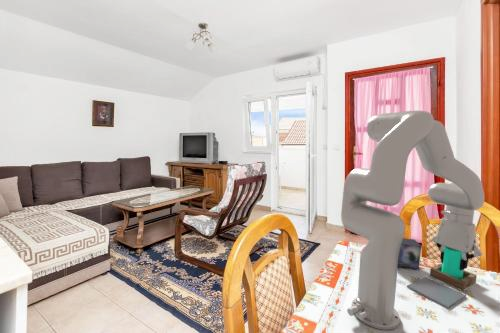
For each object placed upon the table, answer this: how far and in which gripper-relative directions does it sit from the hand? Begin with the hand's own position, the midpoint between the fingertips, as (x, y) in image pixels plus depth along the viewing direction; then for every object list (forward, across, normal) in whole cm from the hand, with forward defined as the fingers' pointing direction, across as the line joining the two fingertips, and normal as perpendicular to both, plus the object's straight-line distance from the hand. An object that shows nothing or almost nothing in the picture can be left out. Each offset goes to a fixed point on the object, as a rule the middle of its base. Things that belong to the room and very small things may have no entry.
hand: (452, 265), depth 88 cm
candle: (+4, 0, 0) cm, 4 cm away
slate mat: (+6, +1, -13) cm, 15 cm away
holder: (+6, 0, +1) cm, 6 cm away
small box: (+6, -15, -6) cm, 17 cm away
